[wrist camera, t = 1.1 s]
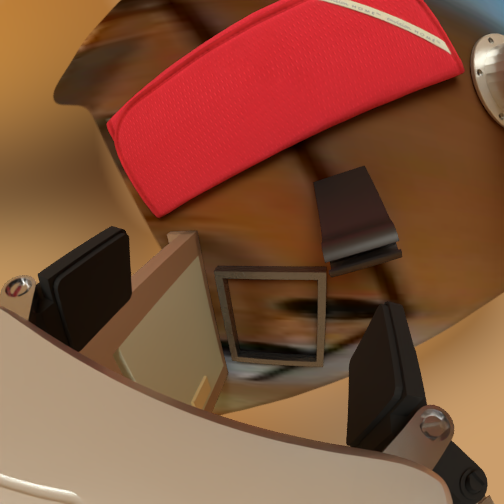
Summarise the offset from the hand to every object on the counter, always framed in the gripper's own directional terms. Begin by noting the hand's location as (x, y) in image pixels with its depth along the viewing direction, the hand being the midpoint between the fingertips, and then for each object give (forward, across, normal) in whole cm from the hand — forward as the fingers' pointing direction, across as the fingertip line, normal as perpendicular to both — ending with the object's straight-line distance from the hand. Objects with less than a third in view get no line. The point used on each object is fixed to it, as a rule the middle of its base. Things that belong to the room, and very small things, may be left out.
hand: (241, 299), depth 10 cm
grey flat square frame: (+24, -1, +20) cm, 31 cm away
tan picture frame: (+24, +9, +23) cm, 34 cm away
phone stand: (+24, -6, +3) cm, 25 cm away
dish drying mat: (+25, +6, -10) cm, 27 cm away
